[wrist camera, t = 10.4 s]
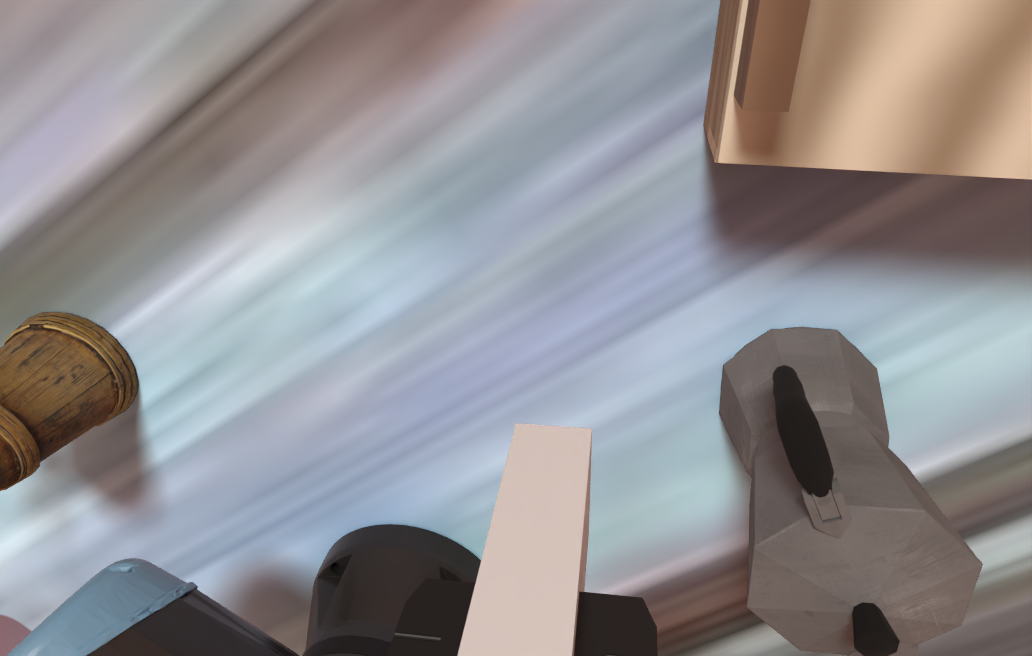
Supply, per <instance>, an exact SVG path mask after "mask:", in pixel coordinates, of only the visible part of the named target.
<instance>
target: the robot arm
mask: <svg viewBox="0 0 1032 656" xmlns="http://www.w3.org/2000/svg"><path fill="white" fill-rule="evenodd" d="M591 444H592V429H591V428H576V427H561V426H547V425H532V424H517V423H516V425H515V429H514V433H513V437H512V440H511V444H510V448H509V452H508V456H507V460H506V464H505V468H504V472H503V476H502V480H501V484H500V488H499V492H498V496H497V500H496V504H495V508H494V512H493V516H492V520H491V524H490V528H489V532H488V536H487V540H486V544H485V548H484V552H483V556H482V560H481V561H480V560H479V559H478V558H477V557H476V556H474V555H473V554H472V553H471V552H469V551H468V550H467V549H465V548H464V547H462V546H461V545H459V544H457V543H456V542H454V541H452V540H450V539H448V538H446V537H444V536H441V535H439V534H436V533H434V532H431V531H428V530H424V529H421V528H416V527H411V526H405V525H392V524H388V525H374V526H369V527H364V528H361V529H358V530H355V531H353V532H350V533H348V534H347V535H345V536H343V537H342V538H341V539H339V540H338V541H337V542H336V543H335V544H334V545H333V546H332V547H331V549H330V550H329V552H328V554H327V556H326V558H325V559H324V561H323V563H322V565H321V567H320V569H319V571H318V573H317V576H316V579H315V582H314V586H313V593H312V601H311V609H310V618H309V626H308V634H307V642H306V649H305V652H304V654H303V656H657V627H656V625H655V623H654V621H653V619H652V617H651V615H650V613H649V610H648V608H647V606H646V604H645V602H644V600H643V598H639V597H629V596H619V595H609V594H599V593H589V592H584V586H585V573H586V561H587V548H588V535H589V507H590V475H591ZM197 588H198V586H197V585H196V584H194V583H193V582H190V583H186V582H184V581H182V580H180V579H179V578H177V577H175V576H173V575H172V574H170V573H168V572H166V571H164V570H163V569H161V568H159V567H157V566H156V565H154V564H152V563H150V562H148V561H146V560H142V559H137V558H130V559H124V560H120V561H117V562H115V563H113V564H111V565H109V566H107V567H106V568H104V569H103V570H101V571H100V572H99V573H98V574H96V575H95V576H94V577H93V578H92V579H90V580H89V581H88V582H87V583H86V584H84V585H83V586H82V587H81V588H80V589H79V590H77V591H76V592H75V593H74V594H73V595H72V596H71V597H69V598H68V599H67V600H66V601H65V602H64V603H63V604H62V605H61V606H59V607H58V608H57V609H56V610H55V611H54V612H53V613H52V614H51V615H49V616H48V617H47V618H46V619H45V620H44V621H43V622H42V623H41V624H40V625H39V626H38V627H36V628H35V629H34V630H33V631H32V632H31V633H30V634H29V635H28V636H27V637H26V638H25V639H24V640H23V641H22V642H21V643H19V644H18V645H17V646H16V647H15V648H14V649H13V650H12V651H11V652H10V653H9V654H8V655H7V656H299V655H297V654H296V653H295V652H293V651H292V650H290V649H289V648H287V647H286V646H284V645H282V644H281V643H279V642H278V641H276V640H275V639H273V638H272V637H270V636H268V635H267V634H265V633H264V632H262V631H261V630H259V629H258V628H256V627H254V626H253V625H251V624H250V623H248V622H247V621H245V620H244V619H242V618H240V617H239V616H237V615H236V614H234V613H233V612H231V611H230V610H228V609H226V608H225V607H223V606H222V605H220V604H219V603H217V602H216V601H214V600H212V599H211V598H209V597H208V596H206V595H205V594H203V593H201V592H200V591H198V590H197Z"/></svg>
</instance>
